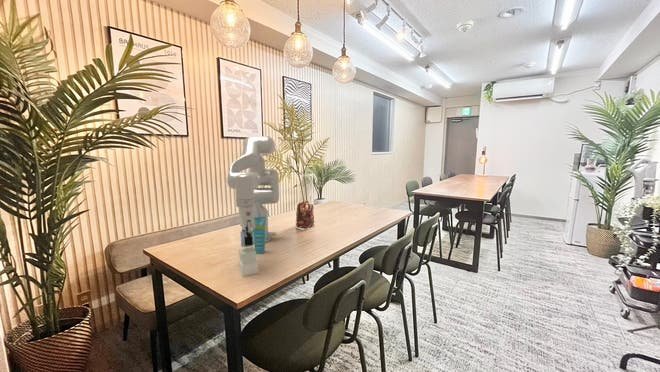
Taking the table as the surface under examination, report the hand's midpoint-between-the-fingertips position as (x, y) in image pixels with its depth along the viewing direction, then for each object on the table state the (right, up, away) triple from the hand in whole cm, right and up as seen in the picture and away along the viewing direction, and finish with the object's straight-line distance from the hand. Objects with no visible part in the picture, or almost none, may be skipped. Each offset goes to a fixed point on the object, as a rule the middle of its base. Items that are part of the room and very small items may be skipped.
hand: (247, 242), depth 119 cm
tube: (-1, -10, +24) cm, 26 cm away
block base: (0, -13, +2) cm, 13 cm away
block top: (0, -8, +1) cm, 8 cm away
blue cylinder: (0, -1, 0) cm, 1 cm away
